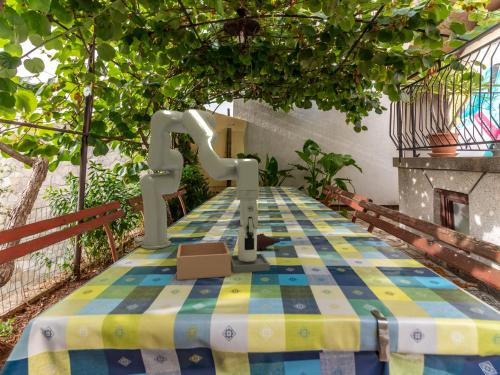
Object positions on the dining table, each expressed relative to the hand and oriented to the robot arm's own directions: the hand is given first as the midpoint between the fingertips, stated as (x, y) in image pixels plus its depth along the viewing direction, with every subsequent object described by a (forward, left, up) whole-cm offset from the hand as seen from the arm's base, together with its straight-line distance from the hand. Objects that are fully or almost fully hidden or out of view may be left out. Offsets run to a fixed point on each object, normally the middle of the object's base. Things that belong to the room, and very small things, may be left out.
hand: (248, 247), depth 109 cm
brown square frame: (-15, 0, -7) cm, 17 cm away
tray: (0, 0, -7) cm, 7 cm away
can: (0, +1, -5) cm, 5 cm away
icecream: (+9, +20, -7) cm, 23 cm away
